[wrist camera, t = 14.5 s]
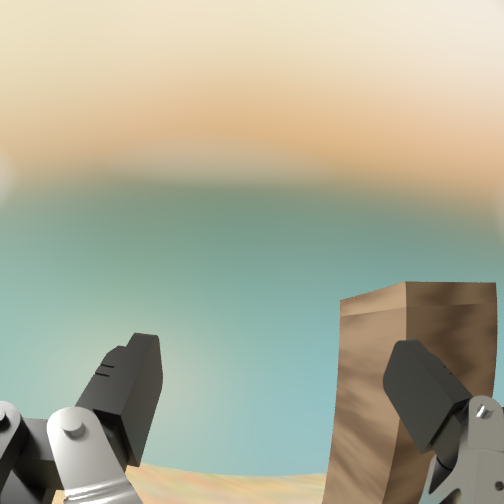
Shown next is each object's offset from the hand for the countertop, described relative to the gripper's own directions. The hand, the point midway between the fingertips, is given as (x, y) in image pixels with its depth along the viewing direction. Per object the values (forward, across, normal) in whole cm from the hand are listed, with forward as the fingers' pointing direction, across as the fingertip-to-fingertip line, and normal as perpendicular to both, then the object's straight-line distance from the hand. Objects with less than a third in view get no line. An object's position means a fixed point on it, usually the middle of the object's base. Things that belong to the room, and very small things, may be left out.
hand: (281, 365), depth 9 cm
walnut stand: (-3, -14, +30) cm, 34 cm away
